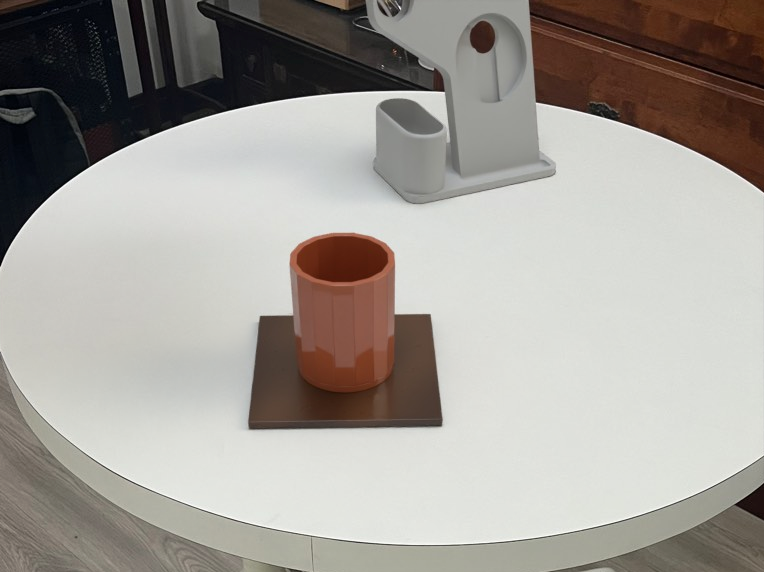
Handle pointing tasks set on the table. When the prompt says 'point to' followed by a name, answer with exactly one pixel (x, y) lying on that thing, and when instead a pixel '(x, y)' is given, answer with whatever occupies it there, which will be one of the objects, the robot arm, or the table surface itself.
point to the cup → (343, 311)
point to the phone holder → (461, 102)
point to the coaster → (354, 409)
